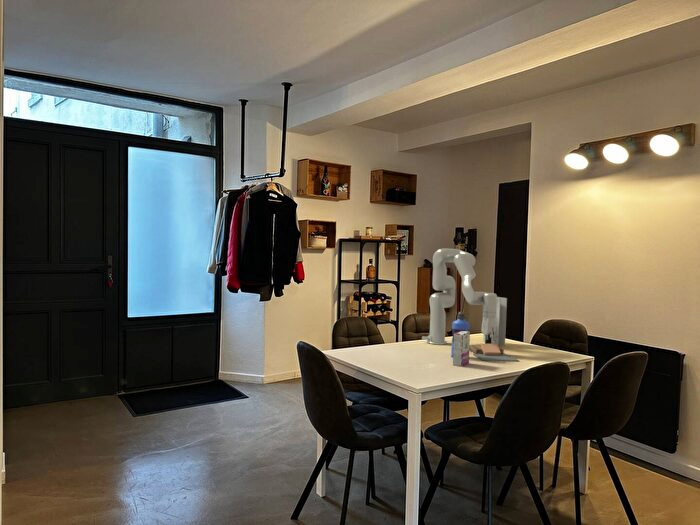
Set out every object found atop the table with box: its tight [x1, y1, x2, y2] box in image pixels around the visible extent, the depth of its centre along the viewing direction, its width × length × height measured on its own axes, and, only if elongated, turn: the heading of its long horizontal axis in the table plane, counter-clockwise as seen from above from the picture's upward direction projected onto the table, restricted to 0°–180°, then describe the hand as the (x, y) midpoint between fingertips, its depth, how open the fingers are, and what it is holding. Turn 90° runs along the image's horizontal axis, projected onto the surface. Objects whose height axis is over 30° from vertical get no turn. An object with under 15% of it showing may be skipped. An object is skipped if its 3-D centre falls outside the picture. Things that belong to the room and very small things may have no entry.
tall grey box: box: [482, 296, 508, 347], centre depth 336 cm, size 14×6×30 cm, turn 25°
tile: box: [480, 343, 501, 355], centre depth 298 cm, size 9×7×2 cm
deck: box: [469, 344, 505, 354], centre depth 305 cm, size 16×13×3 cm
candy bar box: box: [452, 331, 471, 368], centre depth 271 cm, size 11×5×16 cm, turn 148°
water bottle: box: [450, 311, 471, 359], centre depth 289 cm, size 9×9×25 cm
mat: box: [472, 353, 520, 362], centre depth 290 cm, size 20×16×1 cm
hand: (488, 346), depth 302 cm, fingers closed
